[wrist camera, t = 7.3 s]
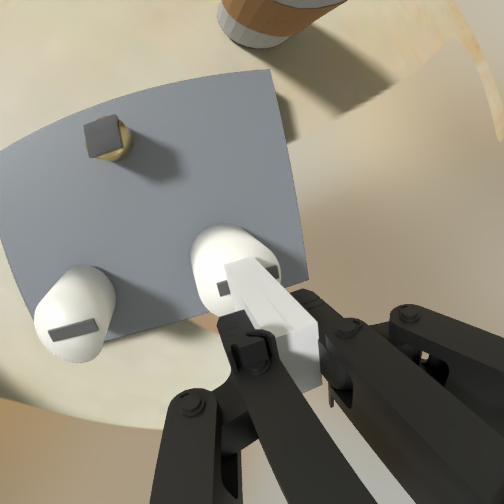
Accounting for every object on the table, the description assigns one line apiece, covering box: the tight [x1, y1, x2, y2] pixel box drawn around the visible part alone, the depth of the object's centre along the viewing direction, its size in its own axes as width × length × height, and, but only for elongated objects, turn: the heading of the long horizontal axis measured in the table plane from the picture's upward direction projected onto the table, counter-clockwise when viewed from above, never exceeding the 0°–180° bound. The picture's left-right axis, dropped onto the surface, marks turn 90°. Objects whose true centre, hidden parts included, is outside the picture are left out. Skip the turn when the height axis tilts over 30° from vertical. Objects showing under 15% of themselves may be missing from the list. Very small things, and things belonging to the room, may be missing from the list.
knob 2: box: [190, 223, 281, 317], centre depth 18 cm, size 4×4×8 cm
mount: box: [0, 69, 309, 341], centre depth 18 cm, size 22×16×3 cm
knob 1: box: [34, 265, 116, 363], centre depth 16 cm, size 4×4×8 cm
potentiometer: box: [83, 114, 134, 162], centre depth 13 cm, size 2×2×4 cm
